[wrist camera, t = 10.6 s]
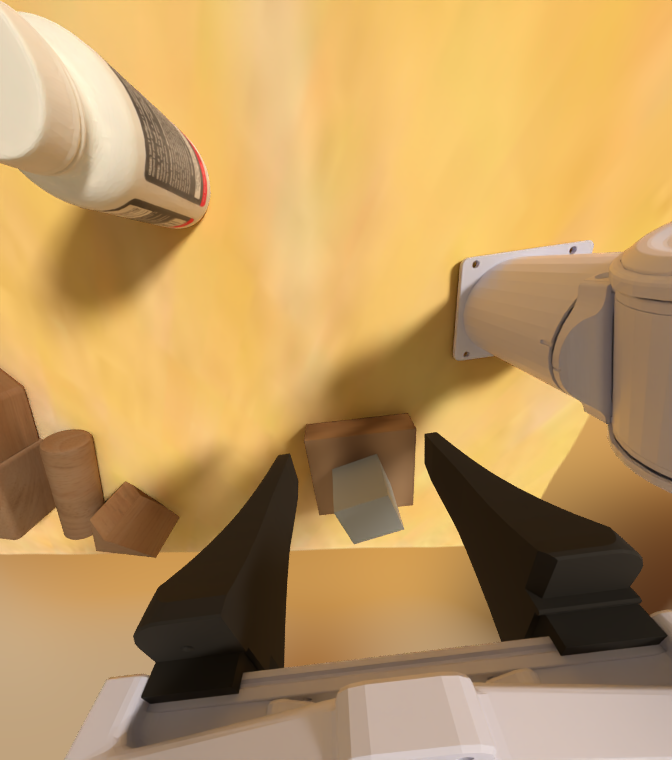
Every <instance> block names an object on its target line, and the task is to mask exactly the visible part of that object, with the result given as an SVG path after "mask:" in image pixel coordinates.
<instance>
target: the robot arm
mask: <svg viewBox="0 0 672 760" xmlns="http://www.w3.org/2000/svg"><path fill="white" fill-rule="evenodd" d="M593 246H594V244H593V242H592V241H591V240H587V241H579V242H572V243H566V244H559V245H552V246H545V247H538V248H531V249H525V250H518V251H511V252H504V253H497V254H490V255H483V256H477V257H470V258H465V259H464V260H463V261H462V262H461V264H460V270H459V283H458V296H457V308H456V321H455V334H454V346H453V357H454V359H456V360H458V361H461V360H468V359H476V358H483V357H490V356H496V357H498V358H500V359H502V360H504V361H506V362H508V363H509V364H511V365H513V366H515V367H517V368H519V369H521V370H523V371H524V372H526V373H528V374H530V375H532V376H534V377H536V378H538V379H539V380H541V381H543V382H545V383H547V384H549V385H551V386H553V387H555V388H556V389H558V390H560V391H562V392H564V393H566V394H568V395H570V396H572V397H573V398H575V399H577V400H579V401H580V402H581V403H582V405H583V407H584V411H585V412H587V413H588V414H590V415H592V416H594V417H596V418H597V419H599V420H601V421H603V422H604V423H606V424H608V441H609V443H610V446H611V448H612V450H613V451H614V453H615V454H616V456H617V457H618V458H619V459H620V460H621V461H622V462H623V463H624V464H625V465H626V466H627V467H628V468H630V469H631V470H632V471H633V472H635V473H636V474H638V475H639V476H641V477H642V478H644V479H645V480H647V481H648V482H650V483H652V484H654V485H656V486H658V487H660V488H662V489H664V490H666V491H668V492H670V493H672V222H670V223H667V224H665V225H663V226H661V227H659V228H657V229H655V230H653V231H652V232H650V233H648V234H647V235H645V236H644V237H642V238H641V239H640V240H638V241H637V242H636V243H635V244H634V245H632V246H631V247H630V248H628V249H627V250H625V251H624V252H611V253H592V250H593ZM570 248H572V251H571V252H570V253H569V250H570ZM474 261H476V263H477V264H476V266H475V267H474V268H473V267H472V264H473V262H474ZM465 352H467V354H466V355H465V356H463V355H464V353H465ZM425 466H426V468H427V471H428V474H429V476H430V478H431V481H432V483H433V485H434V487H435V489H436V491H437V492H438V494H439V496H440V498H441V500H442V502H443V504H444V506H445V507H446V509H447V511H448V513H449V515H450V517H451V519H452V520H453V522H454V524H455V526H456V528H457V530H458V532H459V535H460V537H461V539H462V542H463V544H464V546H465V549H466V551H467V554H468V556H469V558H470V561H471V563H472V566H473V568H474V571H475V573H476V576H477V578H478V581H479V583H480V586H481V588H482V591H483V593H484V596H485V599H486V601H487V603H488V606H489V609H490V612H491V614H492V617H493V620H494V623H495V625H496V628H497V631H498V634H499V636H500V639H501V642H497V643H488V644H480V645H471V646H463V647H455V648H447V649H438V650H430V651H421V652H413V653H406V654H396V655H388V656H379V657H371V658H363V659H354V660H346V661H338V662H329V663H321V664H313V665H304V666H296V667H288V668H284V648H285V647H284V646H285V617H286V595H287V577H288V563H289V552H290V544H291V538H292V532H293V526H294V520H295V513H296V507H297V500H298V478H297V475H296V472H295V469H294V465H293V462H292V459H291V455H290V454H284V455H279V456H278V457H277V458H276V460H275V462H274V463H273V465H272V466H271V468H270V470H269V471H268V473H267V474H266V476H265V477H264V479H263V480H262V482H261V483H260V485H259V486H258V488H257V489H256V491H255V492H254V493H253V495H252V496H251V497H250V499H249V500H248V501H247V503H246V504H245V505H244V507H243V508H242V509H241V510H240V512H239V513H238V514H237V515H236V516H235V517H234V519H233V520H232V521H231V522H230V523H229V524H228V525H227V526H226V527H225V528H224V530H223V531H222V532H221V533H220V534H219V535H218V536H217V537H216V538H215V539H214V540H213V541H212V542H211V543H210V544H209V545H208V546H207V547H206V548H204V549H203V550H202V551H201V552H200V553H199V554H198V555H197V556H196V557H195V558H193V559H192V560H191V561H190V562H189V563H188V564H187V565H185V566H184V567H183V568H182V569H181V570H179V571H178V572H177V573H176V574H175V575H173V576H172V577H171V578H170V579H168V580H167V581H166V582H165V583H163V584H162V585H161V586H159V587H158V589H157V591H156V593H155V594H154V596H153V598H152V600H151V602H150V604H149V605H148V608H147V609H146V611H145V613H144V615H143V617H142V619H141V621H140V623H139V625H138V627H137V629H136V631H135V633H134V636H133V637H134V641H135V644H136V645H137V646H138V648H139V649H140V650H142V651H143V652H144V653H145V654H146V655H148V656H149V657H150V658H151V659H152V660H154V661H155V662H156V664H155V665H154V668H153V670H152V672H151V675H150V676H149V675H145V674H134V675H126V676H118V677H110V678H109V679H108V680H106V682H105V683H104V685H103V687H102V689H101V691H100V693H99V695H98V697H97V699H96V700H95V702H94V705H93V706H92V708H91V710H90V712H89V714H88V716H87V717H86V719H85V721H84V723H83V725H82V727H81V729H80V731H79V733H78V734H77V736H76V738H75V740H74V742H73V744H72V746H71V748H70V750H69V751H68V753H67V755H66V757H65V759H64V760H672V610H663V611H659V612H655V613H653V614H651V615H650V616H649V615H648V613H647V612H646V611H645V610H644V609H643V608H642V607H641V606H640V605H639V604H638V603H641V602H642V600H641V598H640V597H639V596H638V595H637V594H636V593H635V591H634V590H633V589H632V588H631V587H630V586H631V584H632V583H633V581H634V580H635V579H636V577H637V576H638V574H639V573H640V571H641V569H642V567H643V561H642V557H641V556H640V554H639V553H638V552H637V551H635V550H634V549H633V548H632V547H631V546H630V545H629V544H627V542H626V541H625V540H623V538H621V537H620V536H619V535H618V534H617V533H616V532H615V531H613V530H612V529H611V528H610V527H607V526H605V525H602V524H600V523H597V522H594V521H592V520H589V519H586V518H584V517H581V516H578V515H576V514H573V513H571V512H568V511H566V510H564V509H561V508H559V507H557V506H554V505H552V504H550V503H548V502H546V501H543V500H541V499H539V498H537V497H535V496H533V495H531V494H529V493H527V492H525V491H523V490H521V489H519V488H517V487H515V486H514V485H512V484H510V483H508V482H507V481H505V480H503V479H501V478H500V477H498V476H496V475H495V474H493V473H491V472H490V471H488V470H487V469H485V468H484V467H482V466H481V465H479V464H478V463H476V462H475V461H473V460H472V459H471V458H469V457H468V456H467V455H465V454H464V453H462V452H461V451H460V450H459V449H457V448H456V447H455V446H453V445H452V444H451V443H450V442H448V441H447V440H446V439H444V438H443V437H442V436H441V435H439V434H438V433H437V432H434V433H427V434H425Z"/></svg>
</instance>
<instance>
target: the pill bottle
mask: <svg viewBox="0 0 672 760" xmlns="http://www.w3.org/2000/svg"><path fill="white" fill-rule="evenodd" d="M0 163H2V164H5V165H8V166H11V167H14V168H18V169H19V170H20V171H21V172H22V173H23V174H24V175H25V176H26V177H28V178H29V179H30V180H31V181H32V182H34V183H35V184H36V185H38V186H39V187H40V188H42V189H43V190H45V191H46V192H48V193H49V194H51V195H53V196H55V197H57V198H59V199H61V200H63V201H65V202H68V203H70V204H73V205H76V206H79V207H81V208H85V209H90V210H95V211H99V212H103V213H107V214H112V215H116V216H120V217H125V218H129V219H133V220H137V221H142V222H146V223H150V224H154V225H158V226H162V227H168V228H174V229H180V228H186V227H190V226H192V225H194V224H195V223H197V222H198V221H199V220H200V219H201V218H202V217H203V215H204V214H205V212H206V210H207V207H208V204H209V200H210V181H209V175H208V172H207V168H206V165H205V163H204V161H203V159H202V157H201V155H200V153H199V152H198V150H197V149H196V147H195V146H194V145H193V143H192V142H191V141H190V140H189V139H188V138H187V137H186V136H185V135H184V134H183V133H182V132H181V131H180V130H179V129H178V128H177V127H176V126H175V125H174V124H173V123H172V122H171V121H170V120H168V119H167V118H166V117H165V116H164V115H163V114H162V113H161V112H160V111H159V110H158V109H157V108H156V107H155V106H153V105H152V104H151V103H150V102H149V101H148V100H147V99H146V98H145V97H144V96H143V95H142V94H141V93H140V92H138V91H137V90H136V89H135V88H134V87H133V86H132V85H131V84H129V83H128V82H127V81H126V80H125V79H124V78H123V77H122V76H121V75H120V74H119V73H118V72H117V71H116V70H114V69H113V68H112V67H111V66H110V65H109V64H108V63H107V62H106V61H105V60H104V59H103V58H102V57H101V56H100V55H99V54H98V53H97V52H95V51H94V50H93V49H92V48H91V47H89V46H88V45H87V44H85V43H84V42H83V41H82V40H80V39H79V38H78V37H77V36H75V35H74V34H72V33H71V32H69V31H68V30H66V29H65V28H63V27H62V26H60V25H58V24H56V23H55V22H52V21H50V20H48V19H46V18H43V17H41V16H38V15H35V14H31V13H26V12H16V11H15V10H14V9H12V8H11V7H10V6H8V5H7V4H5V3H4V2H2V1H0Z"/></svg>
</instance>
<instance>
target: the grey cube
mask: <svg viewBox="0 0 672 760" xmlns="http://www.w3.org/2000/svg"><path fill="white" fill-rule="evenodd" d="M332 477H333V505H334V514H335V515H336V517H337V518H338V520H339V522H340V523H341V525H342V526H343V528H344V529H345V531H346V532H347V534H348V535H349V537H350V539H351V540H352V542H353V543H354V544H357V543H360V542H363V541H367V540H370V539H373V538H377V537H380V536H383V535H387V534H390V533H393V532H397V531H400V530H404V527H403V524H402V520H401V517H400V514H399V510H398V507H397V504H396V500H395V497H394V494H393V490H392V487H391V484H390V482H389V480H388V478H387V475H386V473H385V471H384V469H383V467H382V464H381V462H380V460H379V458H378V456H377V454H375V455H372V456H369V457H366V458H363V459H360V460H357V461H355V462H352V463H349V464H346V465H343V466H340V467H337V468H334V469H332Z"/></svg>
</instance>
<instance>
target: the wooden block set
mask: <svg viewBox="0 0 672 760" xmlns="http://www.w3.org/2000/svg"><path fill="white" fill-rule="evenodd" d="M55 507H56V508H57V512H58V515H59V518H60V522H61V525H62V529H63V532H64V535H65V536H66V537H67V538H69V539H73V540H79V539H83V538H87V537H89V536H91V535H93V537H94V542H95V546H96V551H103V552H111V553H120V554H129V555H138V556H147V557H155V558H156V556H157V555H158V553H159V551H160V550H161V548H162V546H163V545H164V543H165V541H166V539H167V538H168V536H169V534H170V533H171V531H172V529H173V528H174V526H175V524H176V522H177V521H178V519H179V516H177V515H176V514H174V513H173V512H172V511H170V510H169V509H167V508H166V507H165V506H163V505H162V504H160V503H159V502H157V501H156V500H154V499H153V498H151V497H150V496H148V495H147V494H145V493H144V492H142V491H141V490H139V489H138V488H136V487H135V486H133V485H131V484H130V483H128V482H126V481H125V482H124V484H123V485H122V486H121V487H120V488H119V489H118V490H117V491H116V492H115V493H114V494H113V495H112V496H111V497H110V498H109V500H108V501H107V502H106V503H105V504H104V500H103V495H102V489H101V483H100V478H99V472H98V466H97V461H96V455H95V449H94V444H93V438H92V435H91V434H90V433H89V432H87V431H84V430H66V431H61V432H57V433H55V434H52V435H50V436H48V437H46V438H45V439H44V440H43V439H40V438H38V434H37V431H36V427H35V424H34V420H33V417H32V413H31V410H30V406H29V403H28V399H27V396H26V392H25V389H24V386H22V385H21V384H20V383H18V382H17V381H16V380H14V379H13V378H12V377H11V376H9V375H8V374H7V373H5V372H4V371H3V370H2V369H0V538H2V539H11V540H16V539H19V538H21V537H22V536H24V535H25V534H26V533H27V532H28V531H29V530H30V529H31V528H33V527H34V526H35V525H36V524H37V523H38V522H39V521H40V520H42V519H43V518H44V517H45V516H46V515H47V514H48V513H49V512H51V511H52V510H53V509H54V508H55Z"/></svg>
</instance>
